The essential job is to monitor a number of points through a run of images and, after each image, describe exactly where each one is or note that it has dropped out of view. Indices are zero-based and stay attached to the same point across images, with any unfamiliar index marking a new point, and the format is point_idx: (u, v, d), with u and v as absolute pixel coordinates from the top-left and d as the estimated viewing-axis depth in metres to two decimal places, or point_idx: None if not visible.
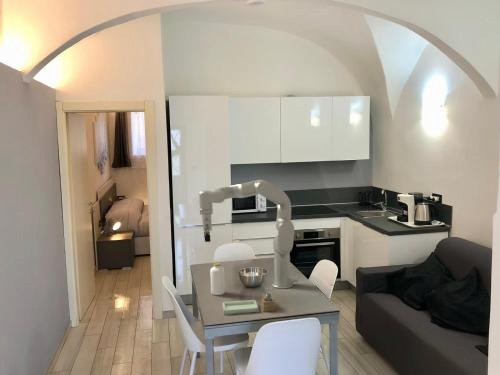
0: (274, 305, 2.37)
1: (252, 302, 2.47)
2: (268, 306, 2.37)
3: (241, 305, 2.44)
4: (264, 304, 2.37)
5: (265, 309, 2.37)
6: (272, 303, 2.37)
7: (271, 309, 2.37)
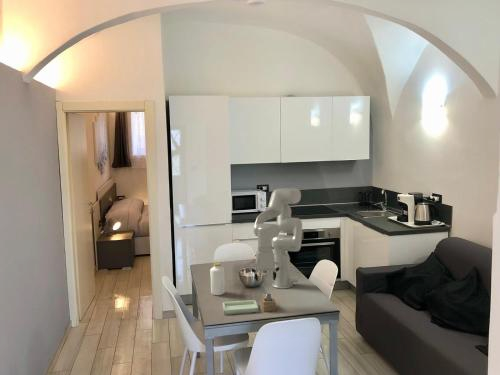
0: (274, 305, 2.37)
1: (252, 302, 2.47)
2: (268, 306, 2.37)
3: (241, 305, 2.44)
4: (264, 304, 2.37)
5: (265, 309, 2.37)
6: (272, 303, 2.37)
7: (271, 309, 2.37)
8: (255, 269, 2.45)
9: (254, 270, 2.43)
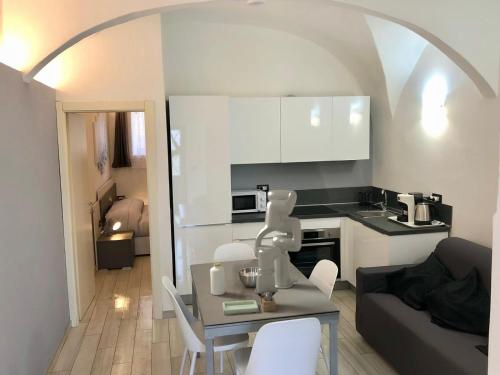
0: (274, 305, 2.37)
1: (252, 302, 2.47)
2: (268, 306, 2.37)
3: (241, 305, 2.44)
4: (264, 304, 2.37)
5: (265, 309, 2.37)
6: (272, 303, 2.37)
7: (271, 309, 2.37)
8: (260, 293, 2.47)
9: (259, 295, 2.46)
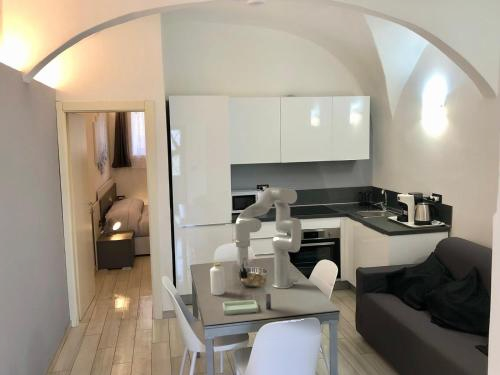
0: None
1: (252, 302, 2.47)
2: None
3: (241, 305, 2.44)
4: None
5: None
6: None
7: None
8: (242, 268, 2.37)
9: (246, 269, 2.37)
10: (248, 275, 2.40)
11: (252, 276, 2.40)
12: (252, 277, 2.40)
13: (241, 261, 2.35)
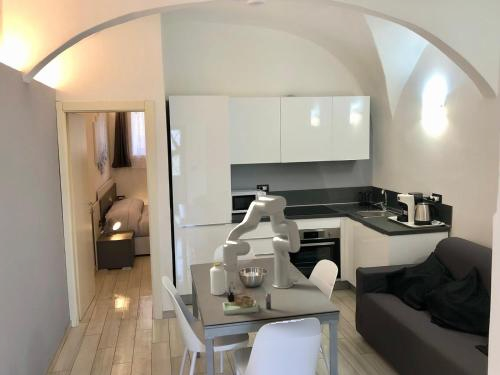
0: None
1: None
2: None
3: None
4: None
5: None
6: None
7: None
8: (229, 292, 2.36)
9: (233, 293, 2.35)
10: (235, 298, 2.38)
11: (239, 299, 2.38)
12: (239, 300, 2.39)
13: (228, 285, 2.33)
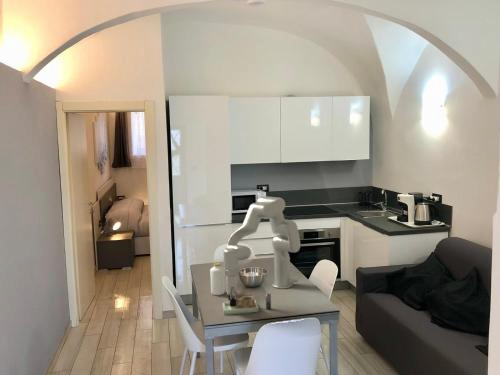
0: None
1: None
2: None
3: None
4: None
5: (254, 306, 2.39)
6: None
7: None
8: (230, 295, 2.34)
9: (234, 296, 2.34)
10: (236, 302, 2.39)
11: (240, 301, 2.39)
12: (240, 302, 2.39)
13: (229, 290, 2.34)
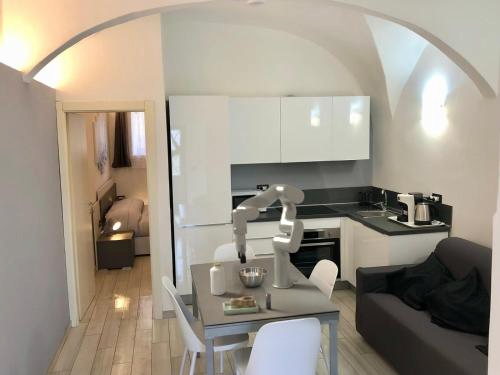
0: None
1: None
2: None
3: None
4: None
5: (254, 306, 2.39)
6: None
7: None
8: (240, 253, 2.45)
9: (244, 253, 2.45)
10: (236, 302, 2.39)
11: (240, 301, 2.39)
12: (240, 302, 2.39)
13: (239, 248, 2.45)
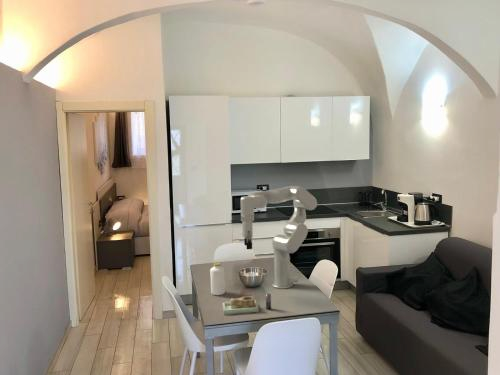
0: None
1: None
2: None
3: None
4: None
5: (254, 306, 2.39)
6: None
7: None
8: (247, 239, 2.54)
9: (250, 239, 2.54)
10: (236, 302, 2.39)
11: (240, 301, 2.39)
12: (240, 302, 2.39)
13: (246, 234, 2.54)
